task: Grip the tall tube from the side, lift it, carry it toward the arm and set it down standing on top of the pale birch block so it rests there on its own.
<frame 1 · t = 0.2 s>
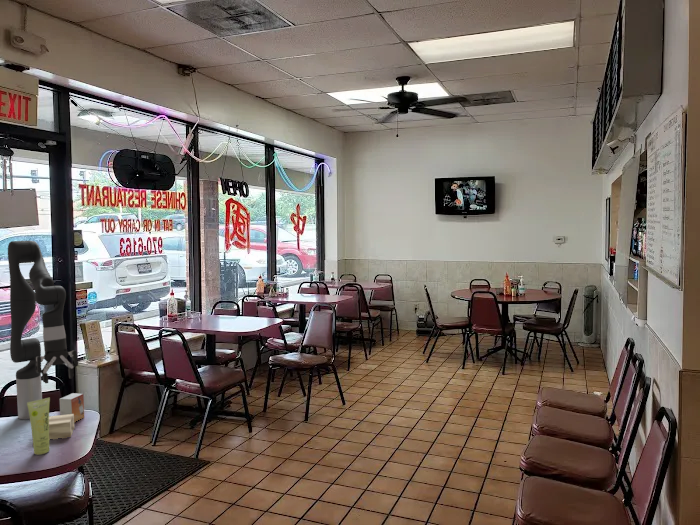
hand: (58, 380, 216), 22 cm above the table, tool pointing down, fingers open, 8 cm apart
small box: (72, 421, 237), on the table
birch block: (55, 434, 221), on the table
tube: (41, 452, 205), on the table
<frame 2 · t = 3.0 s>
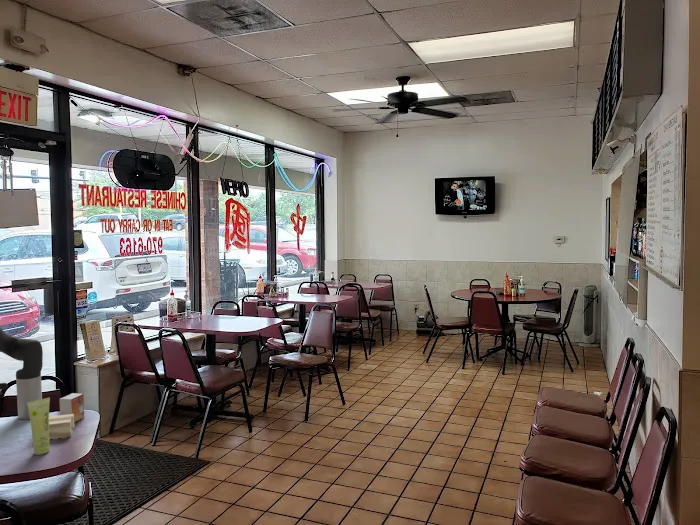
hand: (3, 389, 199), 24 cm above the table, tool horizontal, fingers open, 8 cm apart
nothing on the table moved.
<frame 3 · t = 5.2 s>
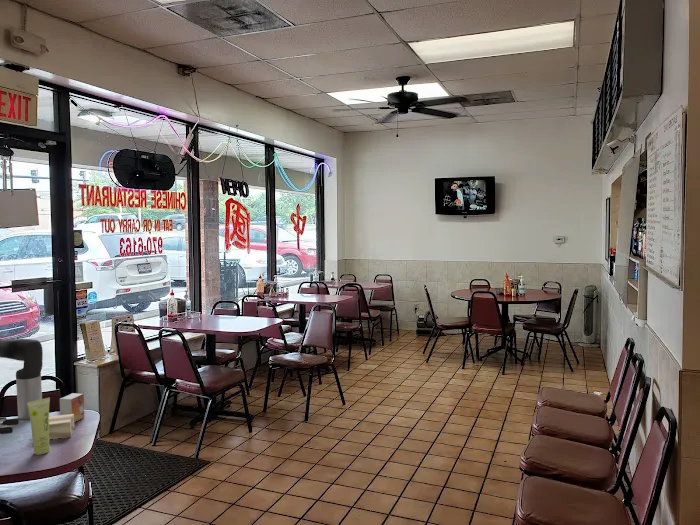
hand: (15, 425, 201), 11 cm above the table, tool horizontal, fingers open, 8 cm apart
nothing on the table moved.
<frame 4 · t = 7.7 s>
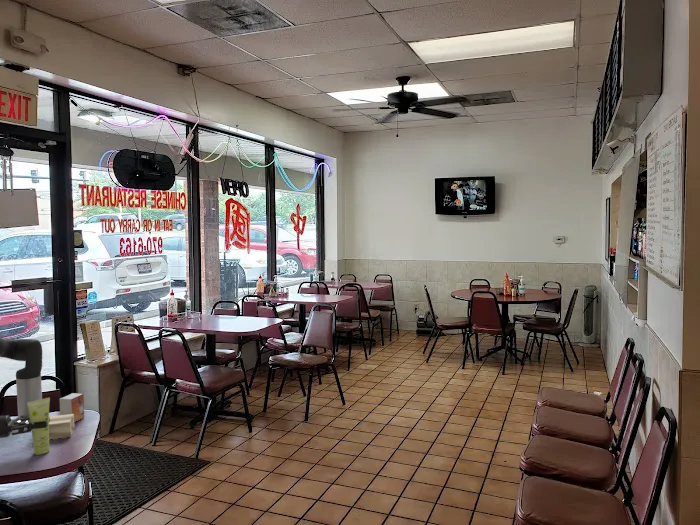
hand: (47, 421, 205), 11 cm above the table, tool horizontal, fingers closed on tube, 4 cm apart
tube: (41, 452, 205), on the table, touching gripper
everything else where it was.
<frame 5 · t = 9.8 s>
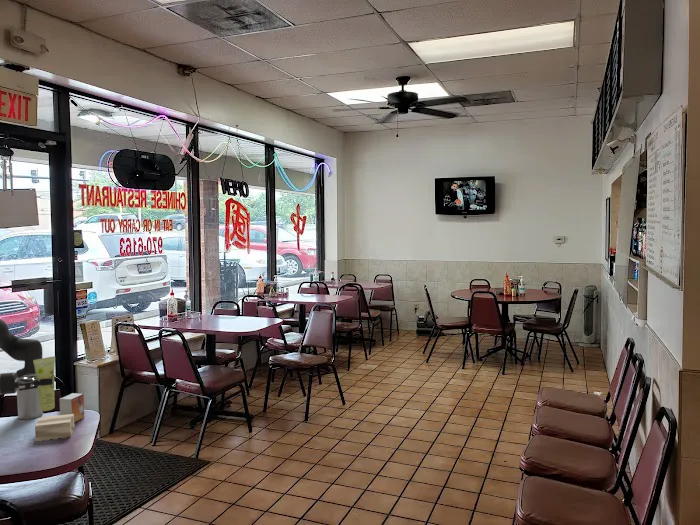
hand: (53, 379, 211), 24 cm above the table, tool horizontal, fingers closed on tube, 4 cm apart
tube: (46, 409, 211), point 13 cm above the table, touching gripper
everything else where it was.
when the fingers open (18 cm above the table, at t = 12.1 s): tube stays where it is, resting on birch block.
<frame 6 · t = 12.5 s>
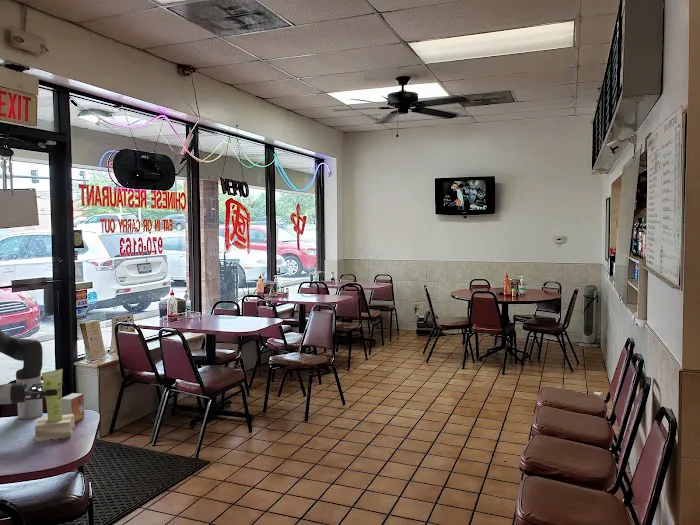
hand: (59, 389, 221), 18 cm above the table, tool horizontal, fingers open, 8 cm apart
tube: (54, 420, 221), point 6 cm above the table, touching birch block
everything else where it was.
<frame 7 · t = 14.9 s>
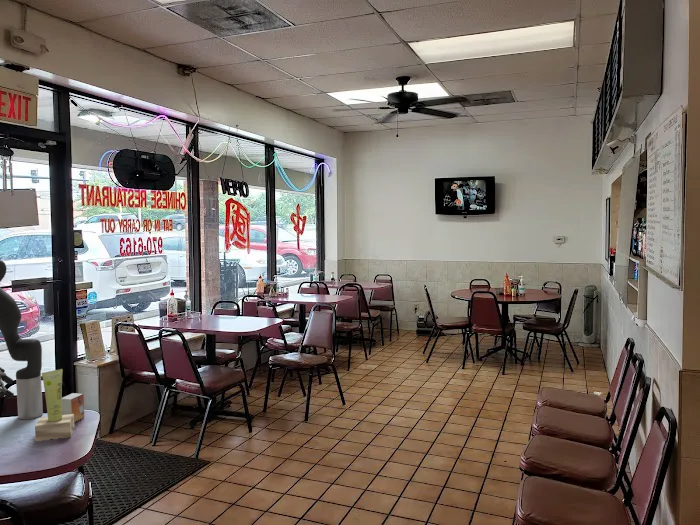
hand: (11, 389, 218), 19 cm above the table, tool tilted 45°, fingers open, 8 cm apart
nothing on the table moved.
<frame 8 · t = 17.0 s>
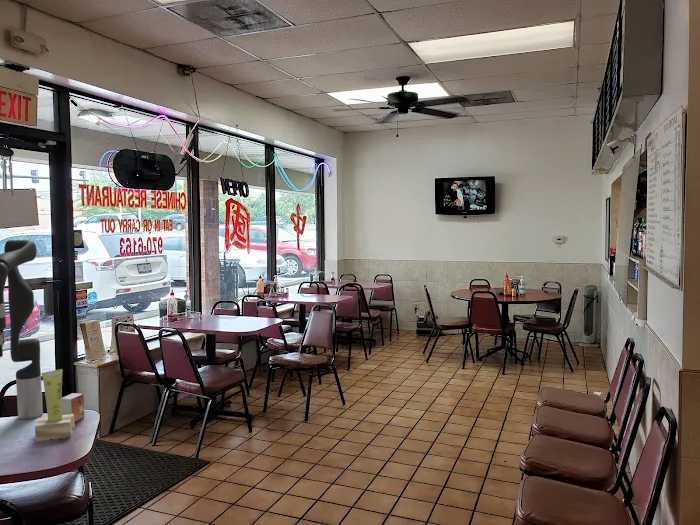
nothing on the table moved.
at the end: tube 0.2 cm from the birch block (horizontally); tube touching birch block; tube tilted 0° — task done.
